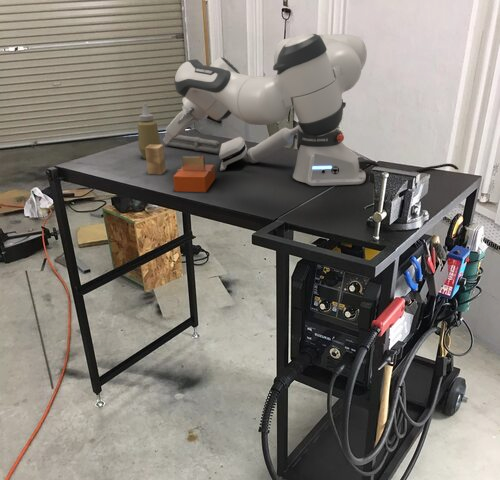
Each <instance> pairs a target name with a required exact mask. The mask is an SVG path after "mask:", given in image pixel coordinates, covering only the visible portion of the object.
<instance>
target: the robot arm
mask: <svg viewBox="0 0 500 480" xmlns="http://www.w3.org/2000/svg"><path fill="white" fill-rule="evenodd" d="M367 51H368V50H367V47H366V44H365V42H364V40H363V39H362V38H361V37H360V36H358V35H357V36H356V35H354V34H353V35H352V34H347V33H331V34H316V33H302V34H298V35H295V36H291V37H288V38H283V39H281V40H280V41H279V43H278V44H277V45H276V48H275V50H274V54H273V63H274V64H273V67H272V70H273V71H275V72H276V74H275V75H272V76H260V75H259V76H255V75H248V74H244V73H243V74H242V73H240V72H239V70H238V68H237V67H236V66H235V65H234V64H232V63H231V62H230V61H229V60H228V59H226V58H225V57H223V56H219V57H218V58H217V59H215V60H214V61H213V62H212V63H211V64H210V65H205V64H203V63H202V62H200V61H199V59H196V58H195V59H190V60H189V59H188V60H185V61H184V62H183V63H182V64H180V66H179V67H178V68H177V70H176V73H175V74H174V77H173V79H174V81H173V82H174V86H175V90H176V93H177V94H179V95H180V96H182V99H181V101H182V104H183V105H182V106H181V108H182V110H181V111H180V112H179V113H177V114H176V116H175V117H174V118H173V119H172V121H171V122H170V123H169V124H168V125H167V126H166V128H165V133H167V134H166V136H165V137H163V138H162V142H163V143H164V144H165V143H166V144H167V143H169V141H170V140H171V141H172V138H175V137H176V136H178V135H181V134H182V133H183V132H184V131H185V130H187V129H188V128H190V127H191V126H192V125H194V124H195V123H196V122H199V121H201V122H203V121H206V120H207V118H208V117H210V118H211V119H213V120H215V121H217V122H219V121H223V120H226V119H227V118H229V117H230V116H231V115H233V116H234V117H236V118H237V119H238V120H240V121H242V122H243V123H245V124H248V125H252V126H253V125H254V126H268V125H273V124H276V123H278V122H281V121H283V120H284V119H285V118H287V116H288V114H289V112H290V111H291V108H293V112H294V113H295V116H296V119H297V120H298V121H297V124H298V125H299V129H298V132H297V134H296V149H297V154H296V155H297V156H296V160H295V167H294V170H293V173H292V178H293V179H294V180H295V181H297V182H301V183H304V184H307V185H309V186H310V187H327V186H348V185H349V186H351V185H353V186H354V185H361V184H364V183H365V181H366V179H367V174H366V171H364V170H365V169H368V168H367V167H368V165H371V166H374V167H376V166H380V165H379V164H378V163H376V162H374V161H367V160H366V158H364V157H363V156H359V157H358V156H357V154H356V153H355V152H354V151H353V150H351V148H349V147H348V146H346V145H345V143H343V141H344V139H345V135H344V133H343V131H342V130H340V129H337V128H339V126H340V124H341V122H342V120H343V115H344V109H345V108H346V107H347V106H346V105H347V102H343V101H344V99H343V94H344V93H345V92H348V91H350V90H351V89H353V88H354V87H355V86H356V85H357V83H358V82H359V80H360V78H361V75H362V70H363V69H364V67H365V64H366V61H367V56H368V52H367ZM445 167H451V168H452V169H454V170H456V171H458V170H459V168H458V166H457V165H456V164H453V163H442V164H438V165H437V164H436V165H430V166H425V167H421V168H418V169H414V170H415V171H417V173H420V172H424V171H427V170H436V169H441V168H445Z"/></svg>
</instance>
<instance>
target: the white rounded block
mask: <svg viewBox="0 0 500 480" xmlns="http://www.w3.org/2000/svg"><path fill="white" fill-rule="evenodd" d="M247 147H248V146H247V144H246V141H245V140H244V138H243V137H241V136H238V137H235V138H232V139H230V140H227V141H225V142H223V143H221V145H220V148H219V150H220V151H219V153H218V158H219V160H221V163H220V167H219V171H220V172H222V171H226V168H227V166H228V165H230V164H232V163H235V162H237V161H239V160H241V159H242V158H244V157H245V156H246V155H247V151H248V148H247Z"/></svg>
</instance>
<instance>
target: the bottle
mask: <svg viewBox="0 0 500 480" xmlns="http://www.w3.org/2000/svg"><path fill="white" fill-rule="evenodd" d="M298 129H299V124H298V125H297V126H295V127H293V128H288V127H282V128H281V129H280V130H278V131H276V132H275V133H274V134H272V135H270V136H269V137H267V138H266V139H264V140H262V141H261V142H259V143H257V144H256V145H255V146H252V147H250V148H248V149H247V153H246V158H247V159H248V161H249V162H250V163H251V164H257V163H259V162H261V160H262V159H264V158H267V157H268V156H270V155H272V154H273V153H275V152H277V151H279V150H281V149H283V148H285V147H286V146H288V145H290V144H292V143H293V141H294V137H295V136H297V132H298Z"/></svg>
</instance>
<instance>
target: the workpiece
mask: <svg viewBox="0 0 500 480" xmlns="http://www.w3.org/2000/svg"><path fill="white" fill-rule="evenodd" d="M145 153H146V159H145V160H146V168H147V175H159V176H161V175H163V174H164V173H165V172H166V171H167V168H166V167H167V166H166V158H165V148H164V144H161V145H154V144H150V145H148V146H147V147H145Z"/></svg>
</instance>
